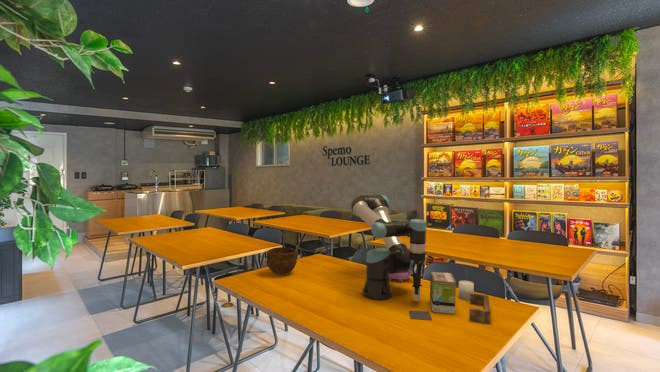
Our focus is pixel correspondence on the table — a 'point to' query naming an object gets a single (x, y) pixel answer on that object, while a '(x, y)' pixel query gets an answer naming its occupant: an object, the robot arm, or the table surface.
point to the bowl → (281, 260)
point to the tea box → (442, 292)
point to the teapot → (400, 276)
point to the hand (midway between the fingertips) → (416, 300)
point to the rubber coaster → (420, 315)
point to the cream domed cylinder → (465, 289)
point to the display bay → (478, 314)
